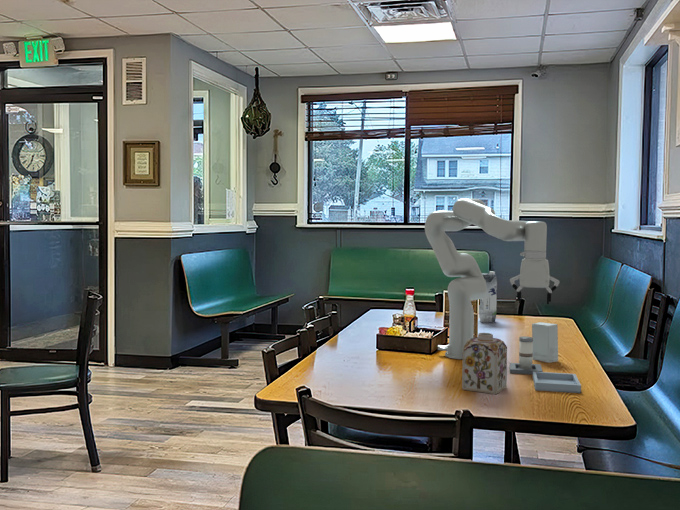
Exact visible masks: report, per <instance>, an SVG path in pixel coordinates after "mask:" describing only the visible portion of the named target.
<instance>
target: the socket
mask: <svg viewBox="0 0 680 510" xmlns="http://www.w3.org/2000/svg"><path fill="white" fill-rule="evenodd" d="M533 371H534V372H544V371H543V368H542V364H539V363H538V364H537V363H532V369H519V362H509V374H515V375H516V374H517V375H529V376H531V375H532V376H533Z"/></svg>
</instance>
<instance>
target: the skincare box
mask: <svg viewBox="0 0 680 510" xmlns="http://www.w3.org/2000/svg"><path fill="white" fill-rule="evenodd" d="M558 326H559V325H558V324H557V323H549V322H543V321H542V322H541V321H539V322H535V323H534V322H533V323H532V324H531V331H532V332H531V333H532V334H531V336H532V337H533V357H532V361H539V362H544V363H555V362H559V333H558V331H559V330H558V329H559V327H558Z"/></svg>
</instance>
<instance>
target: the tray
mask: <svg viewBox="0 0 680 510" xmlns="http://www.w3.org/2000/svg"><path fill="white" fill-rule="evenodd" d="M532 381H533V387H534V390H535V391H540V392H541V391H544V392H557V393H573V394H581V393H582V384H581V383H580V380H579V379H578V376H577V374H576V373H567V372H563V373H562V372H550V371H543V372H534V371H533V375H532Z"/></svg>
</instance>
